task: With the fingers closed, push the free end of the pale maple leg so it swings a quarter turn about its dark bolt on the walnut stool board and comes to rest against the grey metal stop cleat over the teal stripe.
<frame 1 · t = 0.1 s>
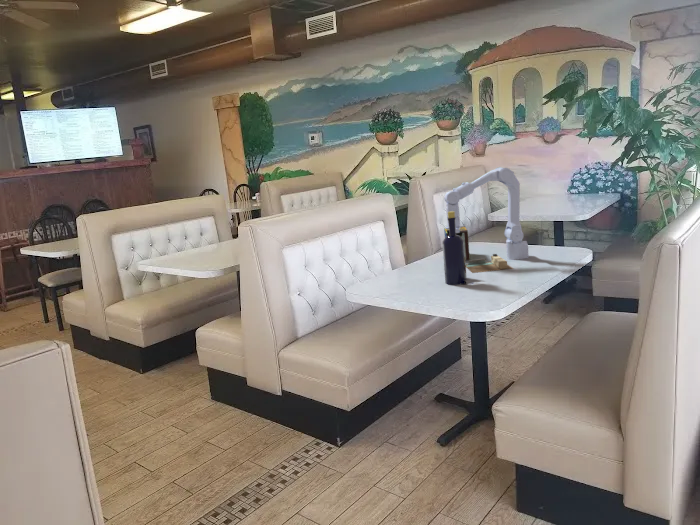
hand: (455, 246, 262), 10 cm above the table, fingers open, 7 cm apart
stop cleat: (476, 266, 261), resting on stool board
bottle: (456, 282, 237), on the table
leg: (499, 261, 252), point 3 cm above the table, hinge at 90.0°
stool board: (487, 269, 254), on the table
protein box: (457, 260, 279), on the table
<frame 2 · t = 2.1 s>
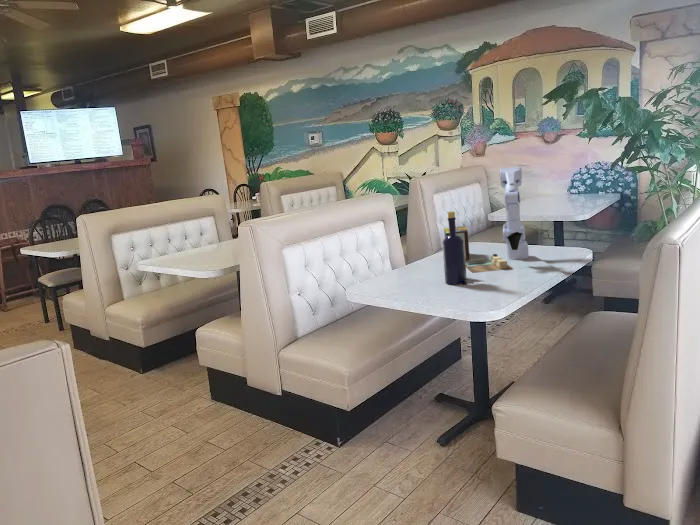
hand: (514, 249, 248), 8 cm above the table, fingers closed
nothing on the table moved.
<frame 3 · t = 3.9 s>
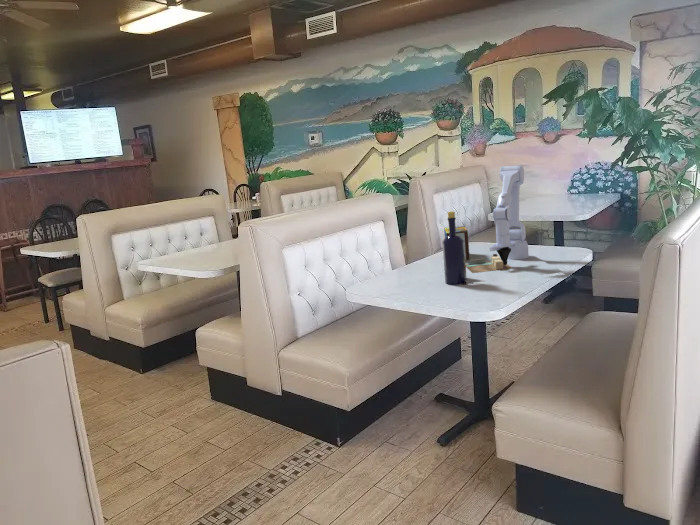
hand: (504, 264, 249), 2 cm above the table, fingers closed, pressing on leg
leg: (497, 261, 252), point 3 cm above the table, hinge at 82.4°, touching gripper
everything else where it was.
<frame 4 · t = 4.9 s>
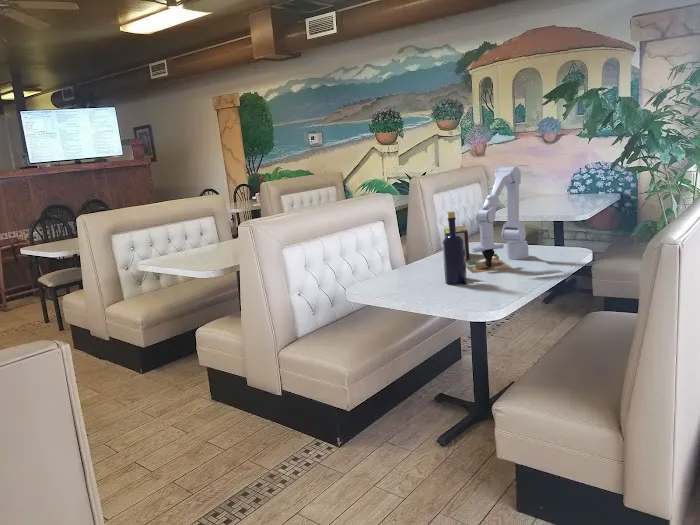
hand: (488, 266, 249), 2 cm above the table, fingers closed, pressing on leg
leg: (487, 261, 254), point 3 cm above the table, hinge at 41.5°, touching gripper
everything else where it was.
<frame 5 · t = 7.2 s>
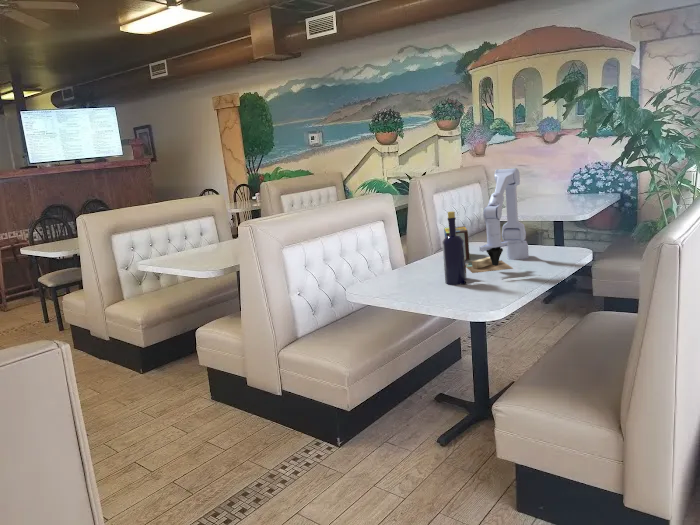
hand: (495, 265, 241), 4 cm above the table, fingers closed
leg: (485, 261, 255), point 3 cm above the table, hinge at 32.8°
everything else where it was.
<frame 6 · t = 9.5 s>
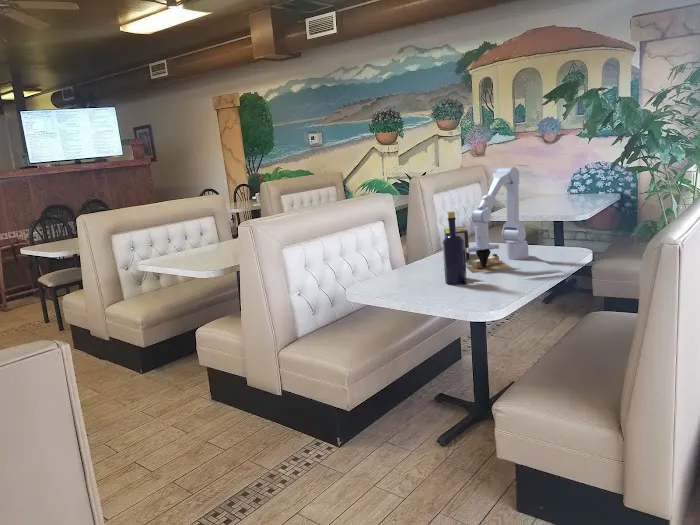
hand: (483, 266, 250), 2 cm above the table, fingers closed
leg: (485, 261, 255), point 3 cm above the table, hinge at 32.0°, touching gripper
everything else where it was.
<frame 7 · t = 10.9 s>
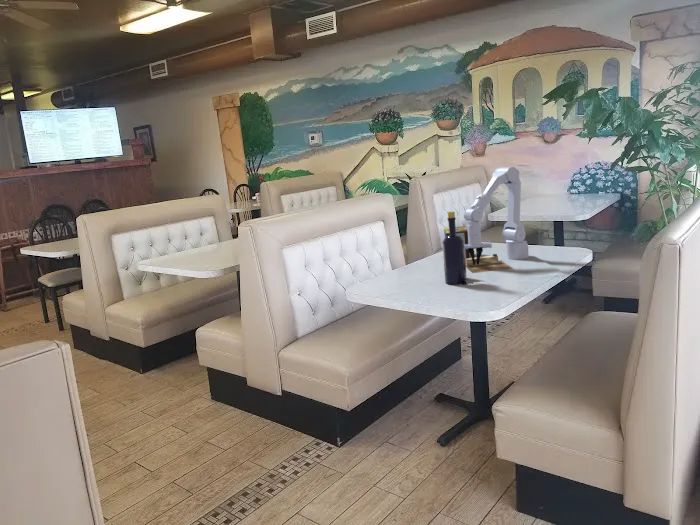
hand: (476, 264, 255), 2 cm above the table, fingers closed on leg
leg: (481, 259, 258), point 3 cm above the table, hinge at 0.2°, touching gripper
everything else where it was.
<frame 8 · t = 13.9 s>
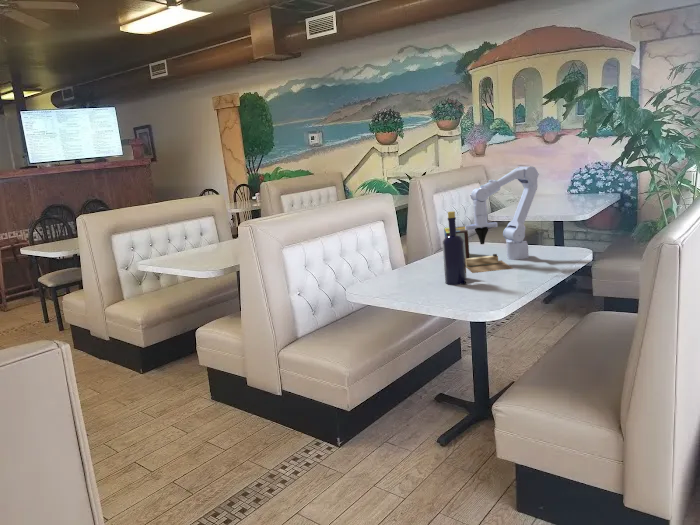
hand: (482, 243, 258), 10 cm above the table, fingers closed
leg: (481, 259, 258), point 3 cm above the table, hinge at -0.9°
everything else where it was.
at the end: leg at -1° (first picture: +90°); leg touching nothing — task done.
